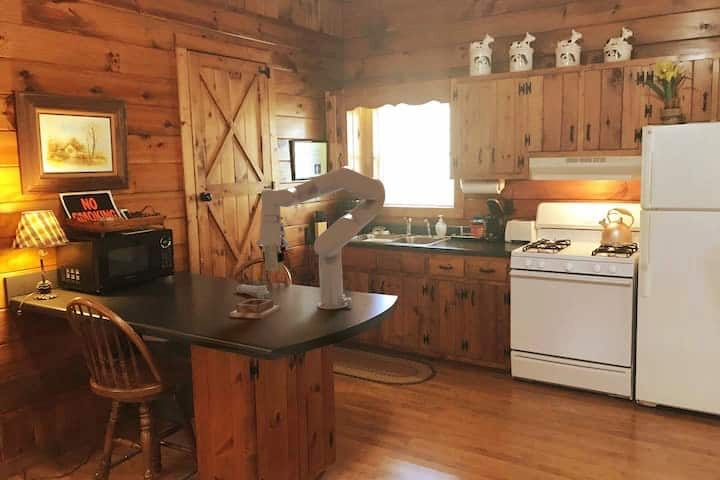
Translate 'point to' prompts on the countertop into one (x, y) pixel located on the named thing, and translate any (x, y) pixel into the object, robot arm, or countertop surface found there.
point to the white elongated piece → (253, 290)
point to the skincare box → (272, 258)
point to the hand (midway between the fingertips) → (273, 261)
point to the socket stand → (255, 308)
